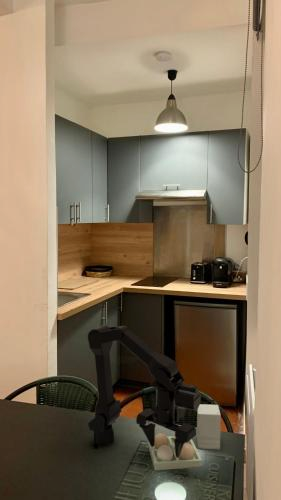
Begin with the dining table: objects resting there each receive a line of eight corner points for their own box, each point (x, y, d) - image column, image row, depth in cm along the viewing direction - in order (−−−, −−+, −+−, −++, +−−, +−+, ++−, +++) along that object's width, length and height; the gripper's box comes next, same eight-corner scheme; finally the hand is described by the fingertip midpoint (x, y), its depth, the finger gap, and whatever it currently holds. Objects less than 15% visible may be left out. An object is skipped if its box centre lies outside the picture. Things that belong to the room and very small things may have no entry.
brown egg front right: (180, 465, 121) (180, 449, 121) (176, 456, 126) (177, 440, 126) (196, 464, 122) (196, 448, 121) (192, 454, 127) (192, 439, 126)
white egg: (158, 467, 120) (158, 451, 120) (155, 457, 125) (155, 442, 125) (174, 466, 121) (174, 450, 120) (171, 456, 126) (171, 441, 125)
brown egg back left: (154, 454, 127) (154, 439, 127) (152, 445, 132) (152, 430, 132) (170, 453, 128) (170, 437, 127) (166, 444, 133) (167, 429, 132)
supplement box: (218, 440, 137) (218, 404, 136) (220, 452, 130) (221, 414, 129) (196, 438, 138) (197, 403, 137) (197, 451, 131) (198, 413, 130)
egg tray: (154, 473, 119) (154, 463, 119) (147, 446, 133) (147, 437, 133) (201, 469, 121) (202, 460, 120) (189, 443, 135) (189, 435, 135)
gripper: (205, 401, 122) (204, 450, 124) (155, 385, 134) (155, 431, 135) (186, 415, 114) (185, 468, 115) (135, 397, 125) (134, 445, 126)
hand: (164, 451), depth 123 cm, fingers open, 9 cm apart
